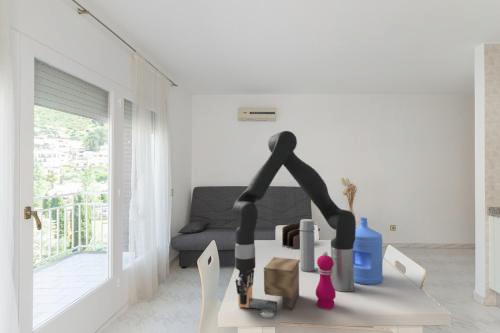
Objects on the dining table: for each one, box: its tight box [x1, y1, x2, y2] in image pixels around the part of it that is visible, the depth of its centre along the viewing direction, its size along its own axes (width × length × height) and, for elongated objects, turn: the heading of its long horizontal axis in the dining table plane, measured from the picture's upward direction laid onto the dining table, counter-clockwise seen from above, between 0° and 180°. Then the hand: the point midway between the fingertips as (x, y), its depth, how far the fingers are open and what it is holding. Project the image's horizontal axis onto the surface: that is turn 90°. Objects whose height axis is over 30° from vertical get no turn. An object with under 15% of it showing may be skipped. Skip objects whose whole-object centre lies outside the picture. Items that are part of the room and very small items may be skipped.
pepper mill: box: [315, 251, 337, 310], centre depth 114 cm, size 7×7×20 cm
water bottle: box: [299, 218, 316, 273], centre depth 156 cm, size 9×8×25 cm
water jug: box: [353, 217, 384, 286], centre depth 141 cm, size 16×16×28 cm
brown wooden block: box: [263, 257, 300, 311], centre depth 118 cm, size 11×15×14 cm
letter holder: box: [281, 223, 301, 250], centre depth 206 cm, size 10×20×14 cm, turn 134°
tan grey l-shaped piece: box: [237, 284, 278, 312], centre depth 112 cm, size 14×4×7 cm, turn 71°
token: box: [259, 308, 276, 320], centre depth 107 cm, size 5×5×2 cm
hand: (245, 301), depth 114 cm, fingers closed on tan grey l-shaped piece, 4 cm apart
